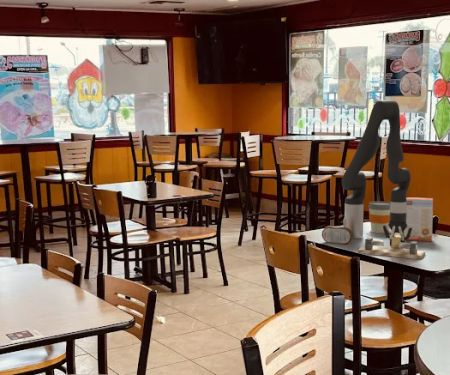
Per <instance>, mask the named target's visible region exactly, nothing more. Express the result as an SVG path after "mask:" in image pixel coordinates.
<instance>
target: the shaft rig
mask: <svg viewBox="0 0 450 375" xmlns="http://www.w3.org/2000/svg"><path fill="white" fill-rule="evenodd" d="M373 238H374V237H366V238H365V239H364V245H363V246H362V247H360V248H358V249H357V253H358V254H363V253H366V254H365V255H374V256H375V255H376V256H385V257H394V258H395V257H396V258H403V259H404V258H406V259H413V260H414V259H415V260H422V259H423V258H424V257H425V256H426V251H425V250H418V249H419V248H418V246H419V245H418V241H415V240H411V242H410V243H407V242H405V243H403V242H400V243H399V247H400V248H403V249H395V248H392V247H384V246H385V245H384V244H385V240H376V239H375V240H374V239H373Z"/></svg>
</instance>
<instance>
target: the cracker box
mask: <svg viewBox="0 0 450 375" xmlns="http://www.w3.org/2000/svg"><path fill="white" fill-rule="evenodd" d="M406 204H407V216H406V223H407V226H409V227H413V229H412V232H411V234H410V237H409V239H407V240H406V241H416V242H418V241H421V242H432V240H433V212H434V198H433V197H431V198H430V197H413V196H412V197H411V196H410V197H406ZM407 233H408V231H407V228H406V229H405V230H404V235H405V237H406V235H407Z"/></svg>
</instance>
